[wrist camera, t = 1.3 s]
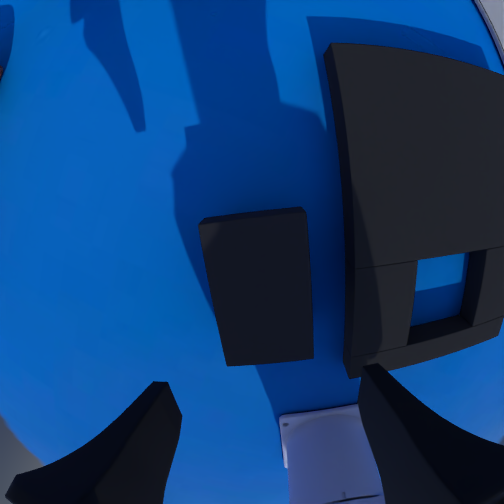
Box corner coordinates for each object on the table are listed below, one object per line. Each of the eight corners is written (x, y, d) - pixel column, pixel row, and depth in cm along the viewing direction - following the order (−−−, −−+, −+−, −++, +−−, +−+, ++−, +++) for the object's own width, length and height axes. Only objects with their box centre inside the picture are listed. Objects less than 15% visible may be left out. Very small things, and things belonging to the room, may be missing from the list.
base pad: (486, 324, 18) (498, 336, 16) (342, 361, 19) (348, 379, 17) (494, 81, 12) (510, 77, 10) (323, 54, 13) (330, 42, 11)
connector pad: (305, 325, 18) (313, 359, 15) (232, 332, 18) (226, 367, 15) (296, 200, 16) (306, 211, 12) (210, 210, 16) (197, 224, 13)
